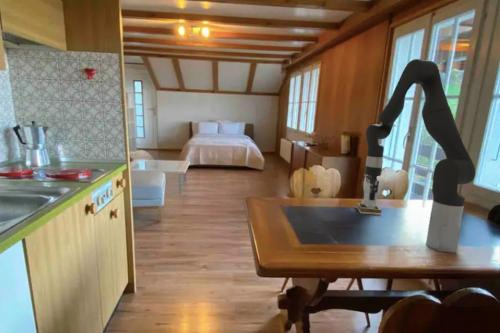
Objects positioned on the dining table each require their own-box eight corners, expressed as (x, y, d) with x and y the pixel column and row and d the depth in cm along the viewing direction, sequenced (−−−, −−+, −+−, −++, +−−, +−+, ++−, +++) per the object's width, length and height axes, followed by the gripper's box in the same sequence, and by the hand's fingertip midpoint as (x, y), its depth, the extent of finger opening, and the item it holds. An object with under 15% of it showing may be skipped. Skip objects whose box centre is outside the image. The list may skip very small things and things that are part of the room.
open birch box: (380, 214, 136) (381, 210, 136) (360, 213, 138) (361, 208, 137) (375, 209, 145) (376, 204, 144) (356, 207, 146) (357, 203, 145)
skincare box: (375, 208, 138) (378, 184, 135) (367, 207, 138) (369, 184, 135) (370, 204, 144) (373, 181, 141) (362, 203, 144) (365, 181, 141)
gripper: (386, 168, 129) (382, 203, 132) (377, 163, 143) (373, 194, 146) (369, 167, 130) (365, 201, 133) (362, 162, 144) (358, 193, 147)
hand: (369, 197), depth 140 cm, fingers closed on skincare box, 6 cm apart
